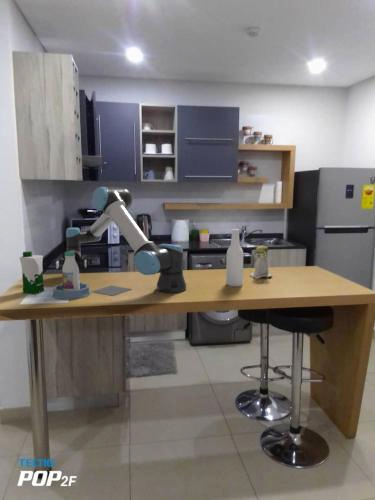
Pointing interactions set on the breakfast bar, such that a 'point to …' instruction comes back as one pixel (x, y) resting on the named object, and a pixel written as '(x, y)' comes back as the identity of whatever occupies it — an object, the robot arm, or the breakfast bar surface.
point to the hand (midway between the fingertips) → (71, 265)
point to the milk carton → (32, 273)
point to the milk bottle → (70, 272)
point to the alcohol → (234, 261)
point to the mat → (111, 290)
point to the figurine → (261, 263)
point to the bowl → (71, 292)
